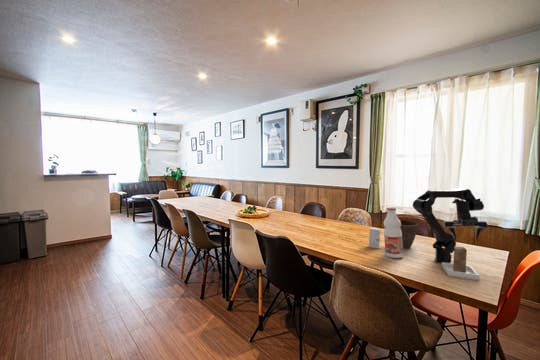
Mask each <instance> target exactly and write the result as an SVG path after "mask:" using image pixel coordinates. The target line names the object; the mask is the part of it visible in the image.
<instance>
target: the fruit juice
mask: <svg viewBox="0 0 540 360" xmlns="http://www.w3.org/2000/svg"><path fill="white" fill-rule="evenodd" d="M396 211H397V208H396V207H386V212H387V213H386V217H385V218H384V220H383V227H384V229H383V235H384V237H383V239H384V249H385V250H384V251H385V256H386V257H387V258H388V257H389V258H391V259H392V258H393V259H400V258H403V256H404V248H403V242H402V231H401V229H400V227H401V221H400V220H401V219H399V218H398V216H397V213H396Z"/></svg>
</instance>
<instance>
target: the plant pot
mask: <svg viewBox="0 0 540 360" xmlns="http://www.w3.org/2000/svg"><path fill="white" fill-rule="evenodd" d="M399 220H400V221H401V227H400V229H401V231H402V242H403V249H411V247H412V246H413V243H414V241H415V238H416V236H417V233H418V228H419V223H418V222H417V221H412V220H407V219H399Z"/></svg>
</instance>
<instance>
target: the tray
mask: <svg viewBox="0 0 540 360" xmlns="http://www.w3.org/2000/svg"><path fill="white" fill-rule="evenodd" d="M441 267H442V269H443V271H444V272H445V274H446V276H448V277H453V278H461V279H465V280H466V279H467V280H473V281H480V274H478V272H477V271H476V270H475V269H474V268H473V267H472V266H471V265H467V264H466V273H464V272H457V271H454V270H453V263H452V262H450V263H444V262H442V263H441Z"/></svg>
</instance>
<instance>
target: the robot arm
mask: <svg viewBox="0 0 540 360" xmlns="http://www.w3.org/2000/svg"><path fill="white" fill-rule="evenodd" d="M437 198H447V199H449V198H454V200H453V201H452V202H451V203H452V204H455V208H456V219H457V222H454V221H452V220H444V221H442V224H440V222H439V220H438V219H437V217H436V216H435V214H434V213H433V205H434V204H435V202H436V199H437ZM412 207H413V209H414V210H415V211H416V212H417V213H419V214H420V215H421V216H422V217H423V218H424V219H425V221H426V223H427V224H428V226H429V227H430V229H431V230H432V232H433V233H434V234H435V242H433V244H432V248H433V249H434V250H435V257H434V261H436V263H438V264H439V263H441V264H442V262H444V263H452V254H454V246H456V247H457V233H456V230H455V226H456V227H457V226H459V227H474V239H475V241H478V239H479V237H480V234H481V231H482V230H484V229H486V228H488V224H489V223H488V222H487V221H485V220H479V218H478V216H471V212H473V211H482V210H483V209H484V208H485V205H484V203H483V201H482V200H481V198H479V197H475V196H474V194H473V193H472V191H471V189H469V188H459V187H458V188H457V187H456V188H453V189H451V190H450V189H448V190H446V189H445V190H434V189H433V190H432V189H429V190H427V191H425V192H424V193H423V194H421V195H419V196H418V197H417V198H416V199H415V200H413V202H412ZM442 226H443V227H445V228H447V229H449V231H450V233H449V232H446V231H445V230H444V228H443V227H442Z"/></svg>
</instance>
